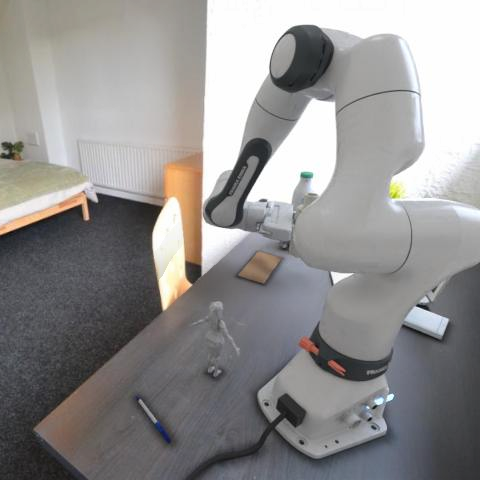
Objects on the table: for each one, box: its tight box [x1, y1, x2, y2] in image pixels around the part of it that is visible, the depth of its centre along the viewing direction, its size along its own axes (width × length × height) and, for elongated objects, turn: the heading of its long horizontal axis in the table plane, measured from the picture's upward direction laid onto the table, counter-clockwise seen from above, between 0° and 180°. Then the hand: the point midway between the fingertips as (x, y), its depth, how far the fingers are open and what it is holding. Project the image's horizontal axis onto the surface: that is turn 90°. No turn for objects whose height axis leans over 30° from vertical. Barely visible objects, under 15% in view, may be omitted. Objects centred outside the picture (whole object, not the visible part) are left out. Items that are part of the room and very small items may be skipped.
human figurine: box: [189, 300, 243, 378], centre depth 64 cm, size 12×4×18 cm, turn 45°
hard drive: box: [402, 305, 450, 340], centre depth 82 cm, size 2×8×12 cm
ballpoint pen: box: [136, 396, 172, 444], centre depth 60 cm, size 10×1×1 cm, turn 37°
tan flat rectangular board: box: [237, 251, 283, 285], centre depth 105 cm, size 18×8×1 cm, turn 146°
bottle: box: [288, 192, 320, 259], centre depth 93 cm, size 6×6×18 cm
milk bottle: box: [290, 171, 315, 221], centre depth 133 cm, size 8×8×20 cm
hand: (309, 223), depth 93 cm, fingers closed on bottle, 6 cm apart
